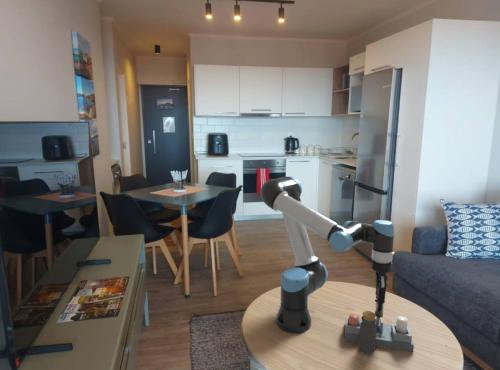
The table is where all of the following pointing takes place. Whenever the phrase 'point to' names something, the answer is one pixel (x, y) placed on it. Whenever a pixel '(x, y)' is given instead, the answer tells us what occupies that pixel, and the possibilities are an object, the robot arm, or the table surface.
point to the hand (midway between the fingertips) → (379, 315)
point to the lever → (378, 318)
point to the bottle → (367, 333)
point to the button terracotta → (354, 320)
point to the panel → (382, 336)
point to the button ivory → (401, 324)
